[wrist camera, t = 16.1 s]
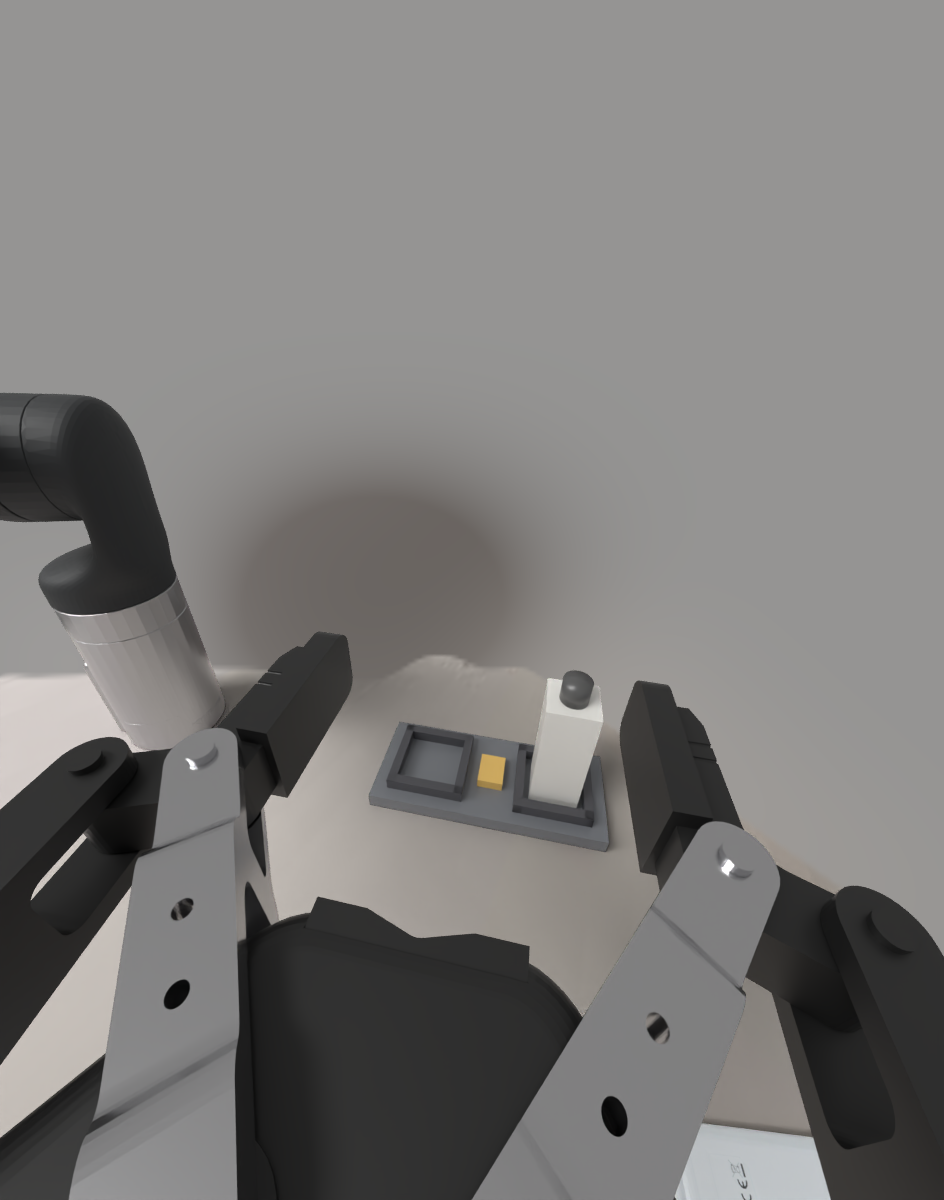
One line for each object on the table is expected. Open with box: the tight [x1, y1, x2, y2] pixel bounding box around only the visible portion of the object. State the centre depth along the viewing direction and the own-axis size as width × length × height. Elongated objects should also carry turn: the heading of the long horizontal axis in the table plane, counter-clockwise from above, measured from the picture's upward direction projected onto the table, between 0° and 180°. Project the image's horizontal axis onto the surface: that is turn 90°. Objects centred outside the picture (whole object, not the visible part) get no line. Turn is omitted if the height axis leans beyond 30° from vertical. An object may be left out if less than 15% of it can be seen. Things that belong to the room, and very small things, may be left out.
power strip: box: [369, 722, 609, 852], centre depth 41 cm, size 22×9×3 cm, turn 80°
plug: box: [528, 671, 603, 808], centre depth 36 cm, size 4×4×14 cm
